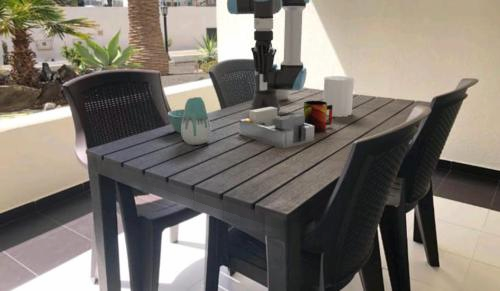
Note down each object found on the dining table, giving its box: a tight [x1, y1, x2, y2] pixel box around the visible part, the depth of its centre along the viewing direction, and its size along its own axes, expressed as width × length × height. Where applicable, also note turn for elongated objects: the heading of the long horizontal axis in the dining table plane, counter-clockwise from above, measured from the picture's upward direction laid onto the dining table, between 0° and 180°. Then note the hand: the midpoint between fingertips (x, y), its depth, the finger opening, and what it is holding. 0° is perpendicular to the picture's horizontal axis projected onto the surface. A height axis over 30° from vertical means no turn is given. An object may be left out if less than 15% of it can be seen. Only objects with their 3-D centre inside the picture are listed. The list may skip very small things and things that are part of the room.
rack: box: [238, 113, 316, 150], centre depth 165 cm, size 27×17×10 cm, turn 39°
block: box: [248, 107, 278, 127], centre depth 171 cm, size 4×12×9 cm, turn 130°
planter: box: [277, 90, 292, 102], centre depth 241 cm, size 17×17×15 cm
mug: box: [303, 100, 333, 134], centre depth 176 cm, size 10×14×12 cm
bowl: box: [167, 108, 185, 134], centre depth 174 cm, size 16×16×8 cm
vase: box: [180, 96, 212, 146], centre depth 157 cm, size 12×12×18 cm
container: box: [322, 75, 355, 118], centre depth 204 cm, size 14×14×18 cm
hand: (263, 89), depth 167 cm, fingers closed
